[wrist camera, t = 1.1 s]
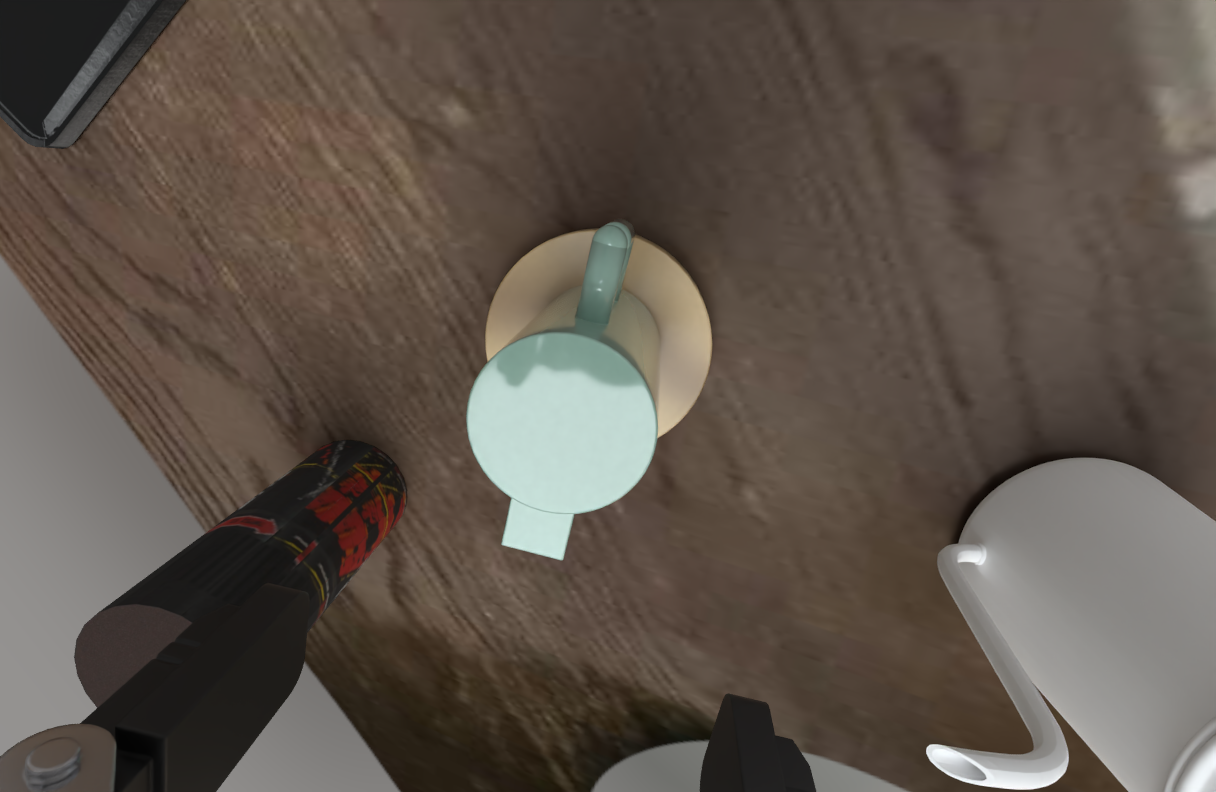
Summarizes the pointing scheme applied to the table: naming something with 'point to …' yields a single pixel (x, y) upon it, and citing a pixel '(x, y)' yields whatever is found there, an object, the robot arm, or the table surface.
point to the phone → (69, 60)
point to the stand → (646, 279)
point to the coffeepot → (1093, 624)
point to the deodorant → (253, 559)
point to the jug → (571, 402)
